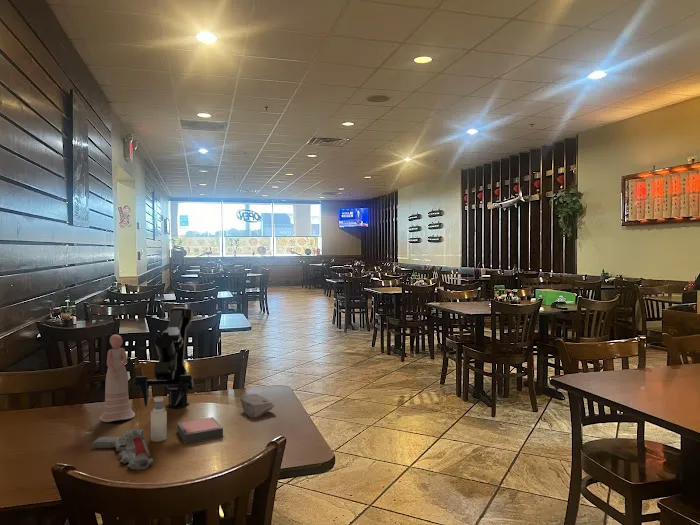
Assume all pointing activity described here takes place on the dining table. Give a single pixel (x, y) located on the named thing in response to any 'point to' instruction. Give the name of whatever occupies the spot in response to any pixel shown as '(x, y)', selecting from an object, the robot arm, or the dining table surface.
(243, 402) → the stone
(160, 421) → the white bottle
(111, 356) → the figurine
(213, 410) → the dining table surface
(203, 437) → the stand
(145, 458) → the toy gun
